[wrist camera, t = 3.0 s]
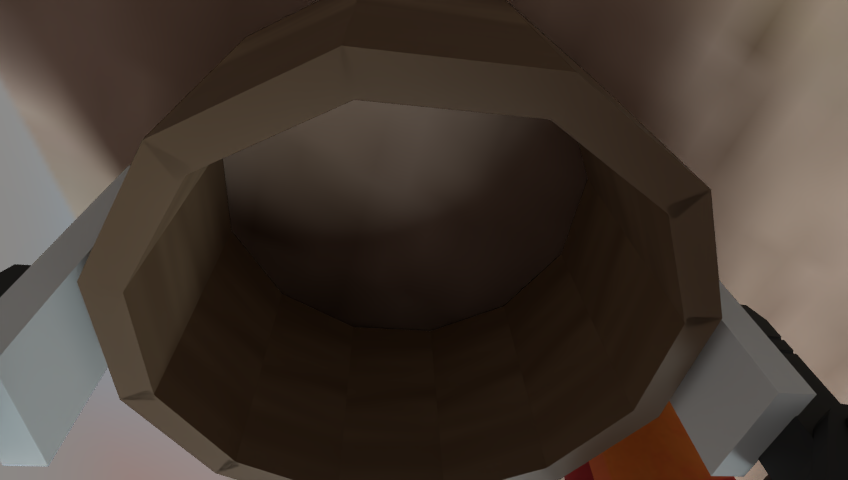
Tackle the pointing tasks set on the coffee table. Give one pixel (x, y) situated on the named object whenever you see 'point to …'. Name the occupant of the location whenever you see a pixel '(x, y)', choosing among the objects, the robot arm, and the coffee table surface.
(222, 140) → the ring
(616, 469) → the coffee cup
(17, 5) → the coffee table surface
